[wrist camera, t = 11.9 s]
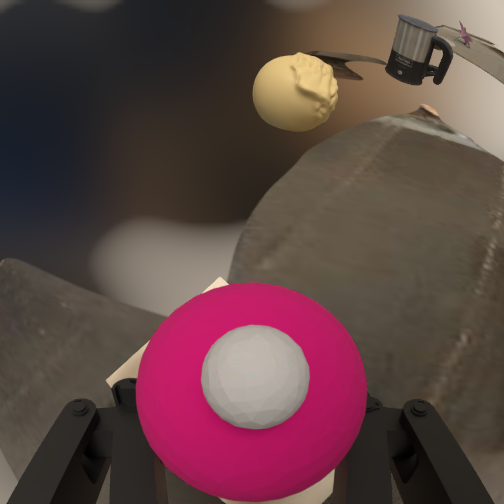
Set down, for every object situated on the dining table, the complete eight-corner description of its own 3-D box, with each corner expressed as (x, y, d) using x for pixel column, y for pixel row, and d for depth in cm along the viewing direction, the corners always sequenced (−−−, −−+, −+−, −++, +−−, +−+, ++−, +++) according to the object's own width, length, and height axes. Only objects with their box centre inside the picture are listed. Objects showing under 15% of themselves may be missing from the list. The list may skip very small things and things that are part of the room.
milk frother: (382, 75, 56) (397, 17, 43) (386, 55, 63) (399, 7, 50) (441, 100, 53) (462, 45, 40) (437, 75, 60) (453, 29, 48)
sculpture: (328, 150, 41) (344, 84, 32) (243, 133, 42) (244, 66, 33) (333, 108, 47) (345, 52, 37) (261, 95, 48) (264, 38, 39)
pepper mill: (313, 396, 22) (503, 288, 5) (261, 473, 19) (325, 633, 2) (233, 349, 24) (207, 131, 7) (180, 422, 21) (-23, 389, 3)
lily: (467, 52, 85) (480, 40, 78) (448, 31, 84) (461, 19, 77) (463, 52, 93) (476, 41, 86) (445, 33, 93) (457, 22, 86)
